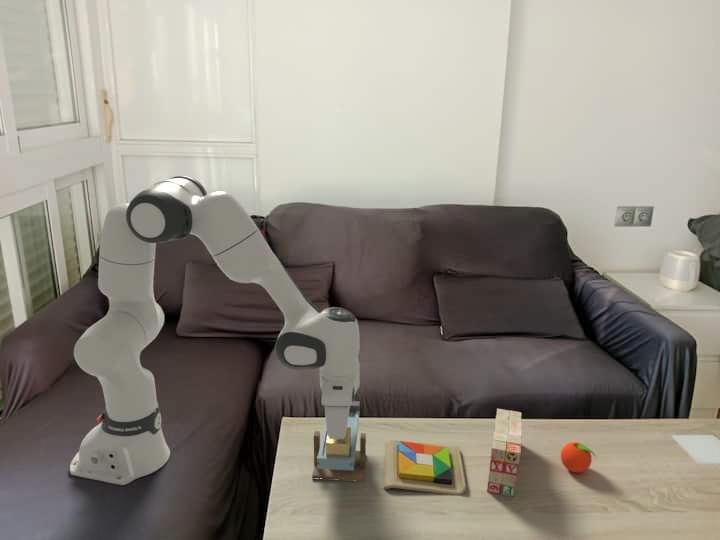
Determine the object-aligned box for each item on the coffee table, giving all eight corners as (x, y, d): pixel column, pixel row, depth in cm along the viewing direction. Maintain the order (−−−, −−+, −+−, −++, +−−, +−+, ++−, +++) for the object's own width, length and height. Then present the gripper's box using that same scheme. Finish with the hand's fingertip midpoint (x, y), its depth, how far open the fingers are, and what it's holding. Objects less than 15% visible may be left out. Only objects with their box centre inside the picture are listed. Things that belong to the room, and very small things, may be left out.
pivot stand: (317, 452, 142) (316, 421, 139) (366, 454, 141) (366, 423, 139) (311, 479, 133) (311, 446, 130) (364, 481, 132) (364, 449, 129)
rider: (329, 444, 130) (329, 426, 128) (351, 445, 130) (351, 427, 128) (326, 462, 125) (325, 443, 123) (348, 463, 124) (348, 444, 123)
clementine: (595, 467, 138) (600, 442, 136) (592, 484, 132) (596, 458, 130) (561, 456, 142) (565, 432, 139) (556, 473, 136) (560, 447, 134)
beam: (328, 410, 145) (328, 400, 144) (359, 412, 145) (359, 401, 143) (317, 468, 124) (316, 456, 123) (353, 470, 124) (353, 458, 123)
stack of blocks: (493, 438, 149) (498, 397, 145) (518, 443, 147) (523, 401, 143) (486, 492, 129) (491, 447, 125) (515, 498, 128) (520, 452, 124)
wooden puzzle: (466, 497, 128) (467, 484, 127) (382, 492, 129) (383, 480, 128) (458, 449, 145) (459, 437, 144) (384, 445, 146) (384, 434, 145)
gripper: (329, 356, 136) (330, 406, 140) (320, 403, 116) (322, 459, 121) (356, 356, 135) (356, 407, 140) (351, 403, 116) (351, 460, 121)
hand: (340, 431), depth 130 cm, fingers closed
